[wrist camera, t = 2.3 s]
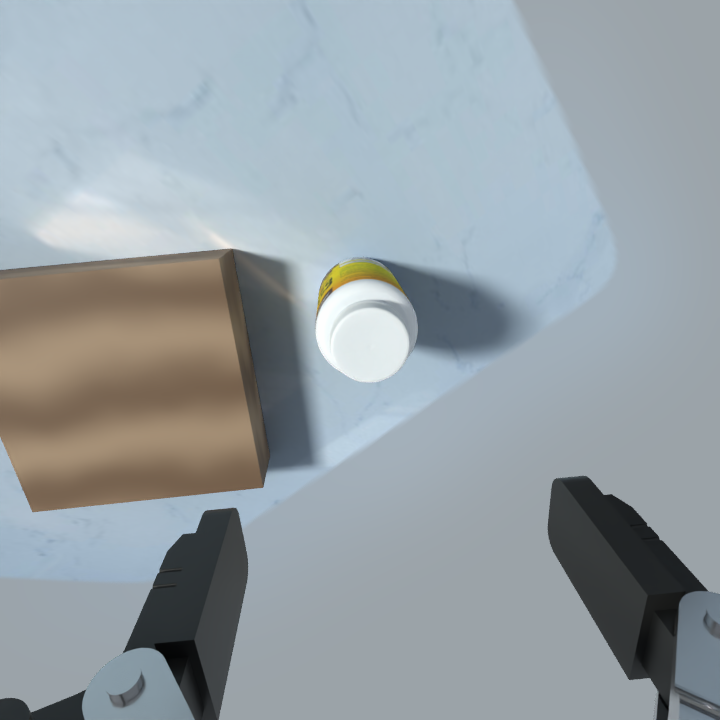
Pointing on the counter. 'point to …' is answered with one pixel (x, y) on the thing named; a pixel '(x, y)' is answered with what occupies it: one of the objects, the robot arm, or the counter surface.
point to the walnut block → (128, 381)
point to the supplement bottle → (364, 320)
